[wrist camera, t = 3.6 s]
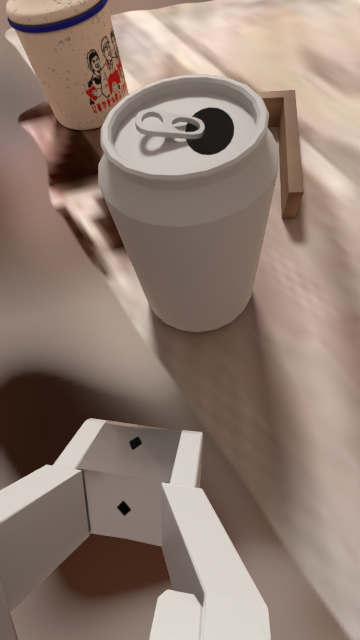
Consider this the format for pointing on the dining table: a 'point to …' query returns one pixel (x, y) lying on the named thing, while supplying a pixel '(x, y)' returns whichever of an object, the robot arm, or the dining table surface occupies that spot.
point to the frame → (286, 147)
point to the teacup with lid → (72, 57)
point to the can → (191, 193)
